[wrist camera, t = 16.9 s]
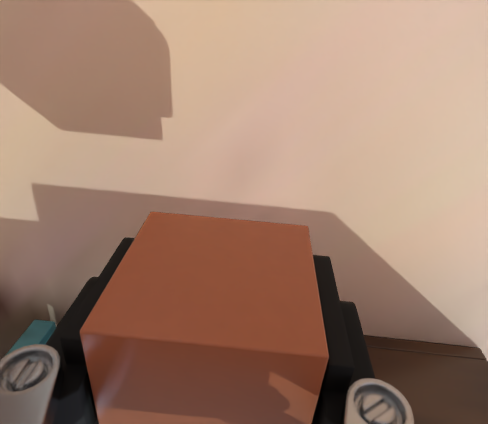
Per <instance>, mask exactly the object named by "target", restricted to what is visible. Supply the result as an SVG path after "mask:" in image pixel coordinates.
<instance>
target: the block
mask: <svg viewBox="0 0 488 424" xmlns="http://www.w3.org/2000/svg"><path fill="white" fill-rule="evenodd" d="M80 337H81V342H82V347H83V351H84V356H85V361H86V366H87V371H88V375H89V380H90V385H91V390H92V394H93V399H94V404H95V409H96V414H97V418H98V423H99V424H312V420H313V416H314V412H315V408H316V405H317V401H318V397H319V393H320V389H321V385H322V382H323V378H324V374H325V370H326V366H327V362H328V359H329V353H328V347H327V341H326V335H325V328H324V322H323V316H322V310H321V304H320V297H319V291H318V285H317V279H316V272H315V266H314V260H313V254H312V248H311V241H310V235H309V229H308V226H302V225H291V224H280V223H270V222H259V221H248V220H237V219H226V218H215V217H204V216H193V215H183V214H172V213H161V212H150V214H149V215H148V217H147V219H146V221H145V222H144V224H143V226H142V227H141V229H140V231H139V232H138V234H137V236H136V237H135V239H134V241H133V242H132V244H131V246H130V247H129V249H128V251H127V252H126V254H125V256H124V257H123V259H122V261H121V262H120V264H119V266H118V267H117V269H116V271H115V273H114V274H113V276H112V278H111V279H110V281H109V283H108V284H107V286H106V288H105V289H104V291H103V293H102V294H101V296H100V298H99V299H98V301H97V303H96V304H95V306H94V308H93V309H92V311H91V313H90V314H89V316H88V318H87V320H86V321H85V323H84V325H83V326H82V328H81V330H80Z"/></svg>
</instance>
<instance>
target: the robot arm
mask: <svg viewBox="0 0 488 424" xmlns="http://www.w3.org/2000/svg"><path fill="white" fill-rule="evenodd" d="M134 239H135V238H124V239H123V240H122V242H121V243H120V245H119V246H118V248H117V249H116V251H115V252H114V254H113V256H112V257H111V259H110V260H109V262H108V263H107V265H106V266H105V268H104V270H103V271H102V273H101V274H100V276H99V277H92V278H90V279H89V280H88V282H87V283H86V284H85V286H84V287H83V289H82V290H81V292H80V293H79V295H78V296H77V298H76V299H75V301H74V302H73V304H72V305H71V307H70V308H69V310H68V311H67V313H66V314H65V316H64V317H63V318H62V320H61V321H60V323H59V324H58V326H57V327H56V329H55V330H54V332H53V333H52V335H51V336H50V338H49V339H48V341H47V342H46V344H45V345H44V344H34V345H29V346H24V347H22V348H19V349H17V350H14V351H13V352H11V353H9V354H8V355H6V356H5V357H4V358H2V359H1V360H0V424H99V423H98V418H97V414H96V409H95V404H94V399H93V394H92V390H91V385H90V380H89V375H88V371H87V366H86V361H85V356H84V351H83V347H82V342H81V337H80V330H81V328H82V326H83V325H84V323H85V321H86V320H87V318H88V316H89V314H90V313H91V311H92V309H93V308H94V306H95V304H96V303H97V301H98V299H99V298H100V296H101V294H102V293H103V291H104V289H105V288H106V286H107V284H108V283H109V281H110V279H111V278H112V276H113V274H114V273H115V271H116V269H117V267H118V266H119V264H120V262H121V261H122V259H123V257H124V256H125V254H126V252H127V251H128V249H129V247H130V246H131V244H132V242H133V241H134ZM313 260H314V266H315V272H316V279H317V285H318V291H319V297H320V304H321V310H322V316H323V322H324V328H325V335H326V341H327V347H328V353H329V359H328V362H327V366H326V370H325V374H324V378H323V382H322V385H321V389H320V393H319V397H318V401H317V405H316V408H315V412H314V416H313V420H312V424H414V417H413V413H412V409H411V406H410V405H409V403H408V401H407V399H406V398H405V397H404V396H403V395H402V394H401V393H400V391H399V390H397V389H396V388H394V387H393V386H392V385H390V384H388V383H386V382H384V381H382V380H379V379H375V375H374V371H373V368H372V364H371V360H370V357H369V353H368V350H367V346H366V342H365V339H364V335H363V331H362V328H361V324H360V320H359V317H358V313H357V310H356V307H355V304H354V303H353V302H346V301H340V300H339V296H338V291H337V287H336V282H335V278H334V273H333V269H332V265H331V260H330V257H327V256H317V255H313Z"/></svg>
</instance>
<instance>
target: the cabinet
mask: <svg viewBox="0 0 488 424" xmlns="http://www.w3.org/2000/svg"><path fill="white" fill-rule="evenodd" d="M364 339H365V342H366V346H367V350H368V353H369V357H370V360H371V364H372V368H373V371H374V375H375V379H379V380H382V381H384V382H386V383H388V384H390V385H392V386H393V387H394V388H396V389H397V390H399V391H400V393H401V394H402V395H403V396H404V397H405V398H406V399H407V401H408V403H409V405H410V406H411V409H412V413H413V417H414V424H488V361H487V360H486V358H485V356H484V354H483V353H482V351H481V350H480V348H473V347H464V346H455V345H445V344H436V343H427V342H418V341H409V340H400V339H391V338H381V337H372V336H364Z"/></svg>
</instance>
